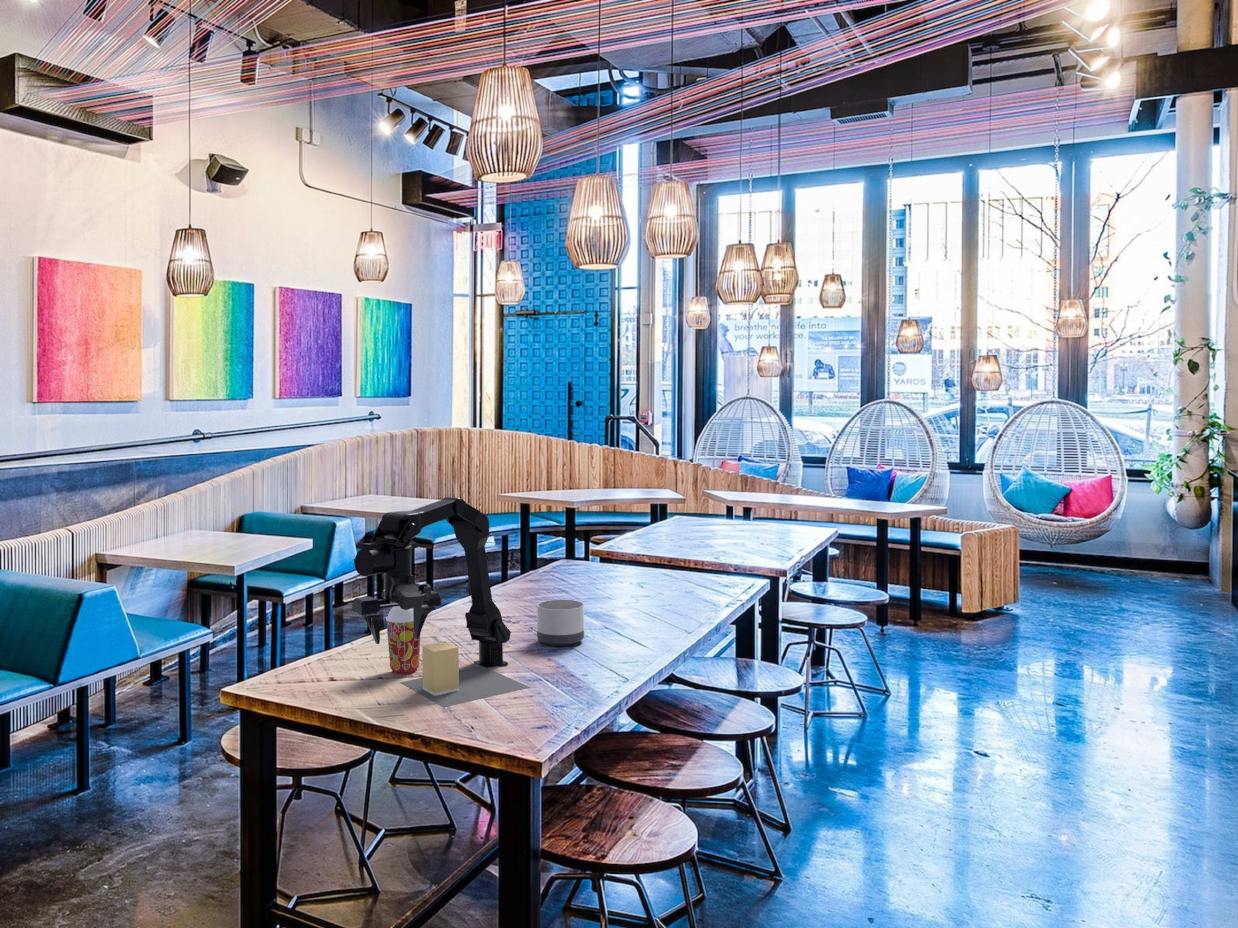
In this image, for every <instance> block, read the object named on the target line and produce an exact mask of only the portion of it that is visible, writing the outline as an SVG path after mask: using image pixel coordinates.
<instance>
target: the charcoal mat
mask: <svg viewBox="0 0 1238 928" xmlns="http://www.w3.org/2000/svg"><path fill="white" fill-rule="evenodd" d="M399 683H400V684H402V686H403V685H404V686H405V687H407V688H409V689H410V690H412V691H414V692H415V693H417V694H419V695H421V696H423V697H424V698H427V699H428V700H430V701H432V702H434V703H435V704H437V705H439V706H441V707H442V708H447V707H450V706H456V705H458V704H459V705H461V704H465V703H470V702H473V701H476V700H482V699H486V698H490V697H494V696H499V695H504V694H508V693H512V692H516V691H521V690H525V689H531V687H530V686H529V685H525V684H524V683H522V682H519V681H517V680H515V679H514V678H513V679H512V678H510V677H509V676H506V675H504V674H501V673H500V672H497V671H495V670H493V669H491V668H490V667H489V668H485V667H483V666H480V665H478V666H474V667H469V668H468V667H467V668H462V669H459V691H455V692H450V693H446V694H441V695H436V696H434V695H433V694H431V693H429V692H427V691H425V690H424V689H423V677H419V678H415V679H409V680H405V681H400V682H399Z"/></svg>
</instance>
